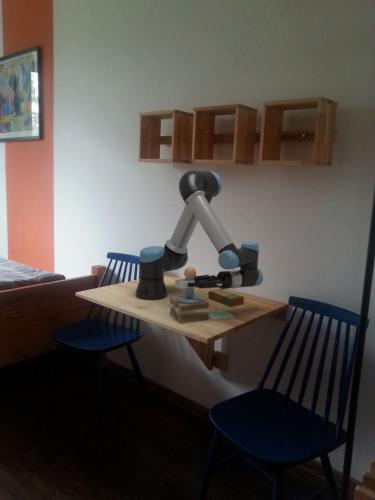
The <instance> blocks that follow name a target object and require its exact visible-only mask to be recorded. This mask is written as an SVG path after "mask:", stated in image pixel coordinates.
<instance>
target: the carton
mask: <svg viewBox="0 0 375 500" xmlns="http://www.w3.org/2000/svg"><path fill="white" fill-rule="evenodd" d="M207 293H208V299H209V300H211V301H214V302H217V303H219V304H222V305H224V306H227V307H229V308H233V307H237V306H242V305H244V304H245V303H244V302H245V297H244V296H243V295H240V294H237V293H234V292H231V291H228V290H227V289H220V288H217V289H213V290H212V289H211V290H208V292H207Z"/></svg>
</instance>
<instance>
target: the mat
mask: <svg viewBox="0 0 375 500" xmlns="http://www.w3.org/2000/svg"><path fill="white" fill-rule="evenodd" d="M208 319H210V320H212V321H218V320H226V319H235V315H233V314H231V313H229V312H228V311H226V310H225V309H217V310H209V318H208Z"/></svg>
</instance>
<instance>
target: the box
mask: <svg viewBox="0 0 375 500" xmlns="http://www.w3.org/2000/svg"><path fill="white" fill-rule="evenodd" d="M177 297H178V296H177ZM177 297H176V296H175V297H170V302H169V307H170V308H169V314H170V315H171V316H172V317H173V318H174V319H175V320H176V321H178V323H180V324H186V323H194V322H195V323H196V322H203V321H204V322H205V321H209V319H210V318H209V311H210V303H209V302H208V301H206V300H205V299H204V298H202V301H201V302H200V303H198V304H183V303H179V302H178V301H177Z"/></svg>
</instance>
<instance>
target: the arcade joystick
mask: <svg viewBox="0 0 375 500" xmlns="http://www.w3.org/2000/svg"><path fill="white" fill-rule="evenodd" d="M183 275H184V277H185V278H186V281H193V280H194V278H195V276H197V271H196V269H195V268H194V267H192V266H188V267H187V268H185V269H184V271H183ZM184 290H185V291H184V292H185V294H179V295H178V296H177V301H178V302H179V303H183V304H198V303H200V302H201V301H202V299H203V298H202V297H201V296H200V295H197V294H195V287H193V288H184Z"/></svg>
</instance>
